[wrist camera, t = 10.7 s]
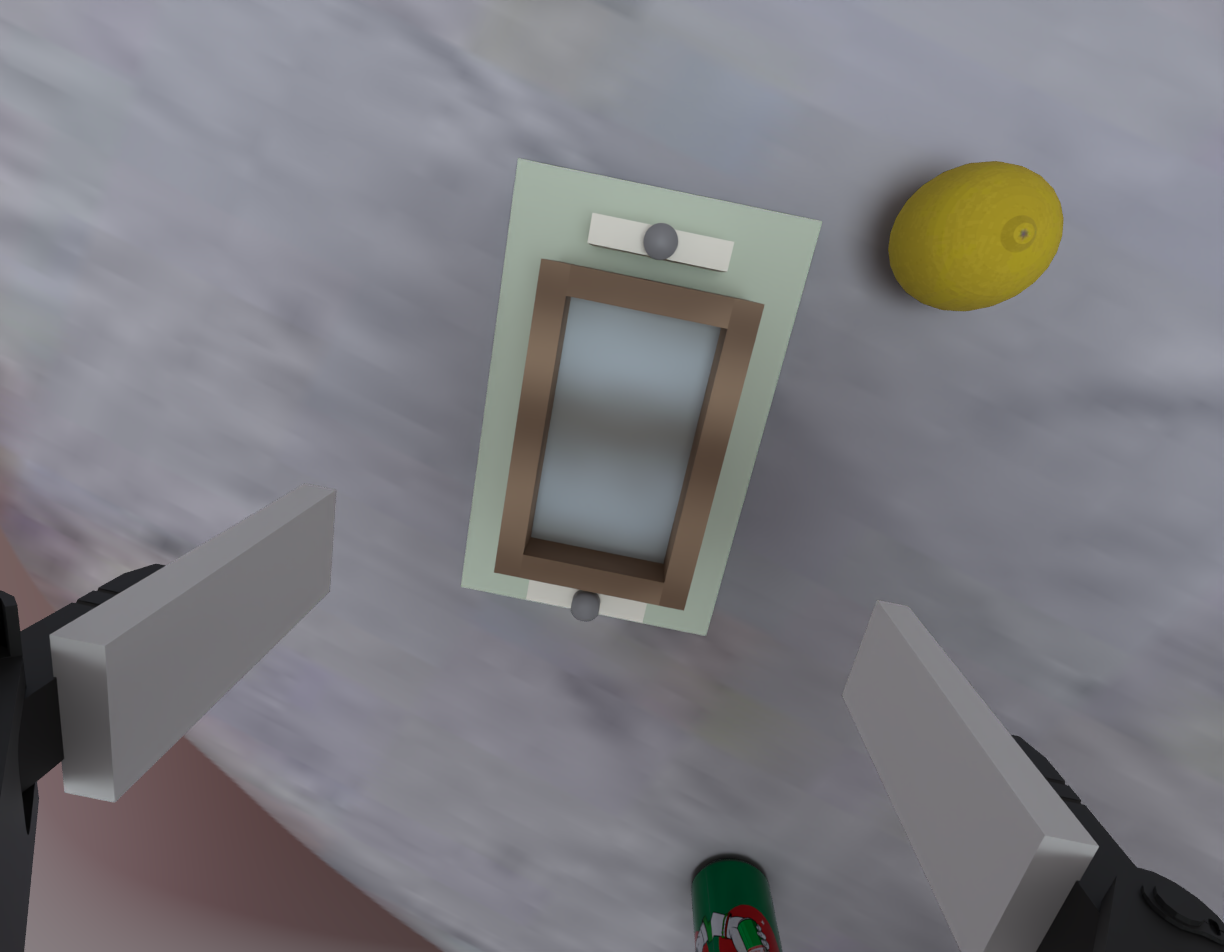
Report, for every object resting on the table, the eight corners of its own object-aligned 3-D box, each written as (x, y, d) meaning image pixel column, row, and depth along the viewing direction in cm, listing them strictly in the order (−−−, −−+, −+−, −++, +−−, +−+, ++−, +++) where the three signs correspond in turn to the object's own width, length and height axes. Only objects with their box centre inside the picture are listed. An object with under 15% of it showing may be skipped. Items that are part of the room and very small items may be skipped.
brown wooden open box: (678, 563, 34) (684, 610, 29) (515, 530, 34) (493, 572, 29) (745, 299, 29) (764, 304, 25) (558, 261, 29) (541, 258, 25)
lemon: (867, 183, 28) (948, 150, 21) (994, 173, 28) (1126, 135, 20) (860, 310, 30) (933, 322, 22) (981, 302, 29) (1097, 312, 22)
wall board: (705, 631, 36) (712, 677, 31) (463, 582, 35) (439, 622, 31) (819, 222, 29) (848, 213, 25) (520, 160, 29) (499, 141, 25)
